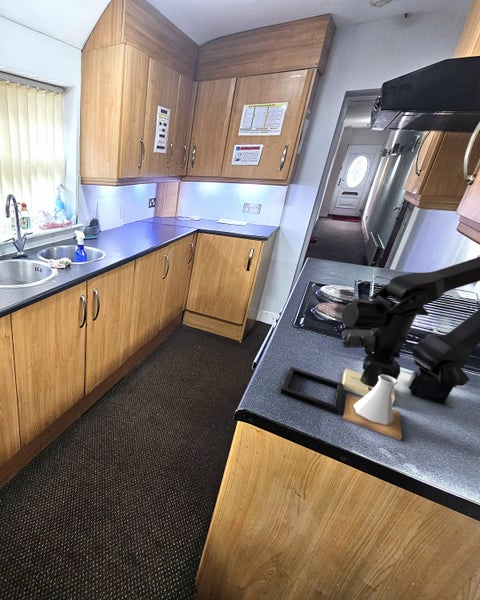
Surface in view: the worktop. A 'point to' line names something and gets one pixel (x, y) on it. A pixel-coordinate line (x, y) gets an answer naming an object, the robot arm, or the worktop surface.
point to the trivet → (390, 429)
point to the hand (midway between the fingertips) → (369, 381)
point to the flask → (378, 401)
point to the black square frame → (311, 400)
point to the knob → (365, 378)
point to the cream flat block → (357, 384)
